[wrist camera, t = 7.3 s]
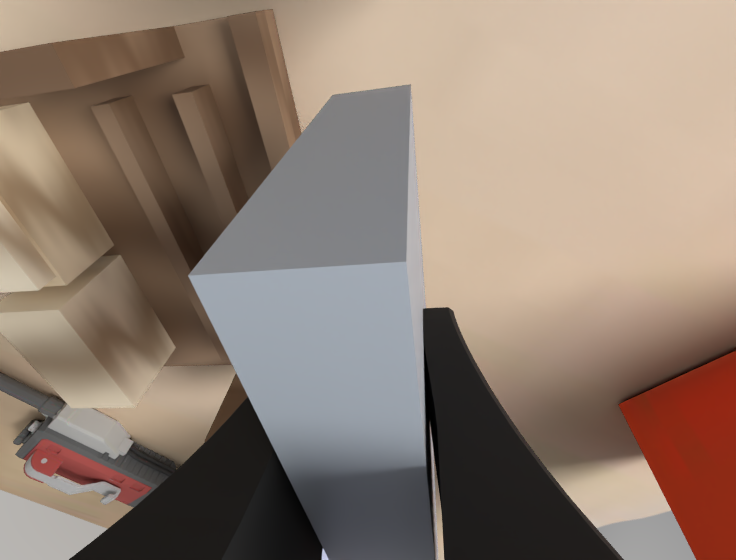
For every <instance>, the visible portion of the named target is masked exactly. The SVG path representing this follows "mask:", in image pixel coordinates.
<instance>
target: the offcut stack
mask: <svg viewBox="0 0 736 560" xmlns="http://www.w3.org/2000/svg"><path fill="white" fill-rule="evenodd" d="M113 246H114V244H113V242H112V240H111V239H110V237H109V235H108V234H107V232H106V230H105V229H104V227H103V225H102V224H101V222H100V220H99V219H98V217H97V215H96V214H95V212H94V210H93V209H92V207H91V205H90V204H89V202H88V200H87V199H86V197H85V195H84V194H83V192H82V190H81V189H80V187H79V185H78V184H77V182H76V180H75V179H74V177H73V175H72V174H71V172H70V170H69V169H68V167H67V165H66V164H65V162H64V160H63V159H62V157H61V155H60V154H59V152H58V150H57V149H56V147H55V145H54V144H53V142H52V140H51V139H50V137H49V135H48V134H47V132H46V130H45V129H44V127H43V125H42V124H41V122H40V120H39V118H38V117H37V115H36V113H35V112H34V110H33V108H32V107H31V105H30V103H29V102H28V103H22V104H15V105H9V106H2V107H0V293H5V292H12V293H10V294H9V295H8V296H6V297H5V298H4V299H2V300H1V301H0V333H1V334H2V335H3V336H4V337H5V338H6V339H7V340H8V341H9V342H10V343H11V344H12V345H13V346H14V347H15V349H16V350H17V351H18V352H19V353H20V354H21V355H22V356H23V357H24V358H25V359H26V360H27V361H28V362H29V363H30V365H31V366H32V367H33V368H34V369H35V370H36V371H37V372H38V373H39V374H40V375H41V376H42V377H43V378H44V379H45V381H46V382H47V383H48V384H49V385H50V386H51V387H52V388H53V389H54V390H55V391H56V392H57V393H58V394H59V395H60V397H61V398H62V399H63V400H64V401H65V402H66V403H67V404H68V405H69V406H70V407H71V408H136V406H137V405H138V403H139V402H140V400H141V399H142V397H143V396H144V394H145V393H146V391H147V390H148V388H149V387H150V385H151V384H152V382H153V381H154V379H155V378H156V376H157V375H158V373H159V372H160V370H161V369H162V367H163V366H164V364H165V363H166V361H167V360H168V358H169V357H170V355H171V354H172V352H173V351H174V349H175V348H176V347H175V345H174V344H173V342H172V340H171V339H170V337H169V335H168V334H167V332H166V330H165V329H164V327H163V325H162V324H161V322H160V320H159V319H158V317H157V315H156V314H155V312H154V310H153V309H152V307H151V305H150V304H149V302H148V300H147V299H146V297H145V295H144V294H143V292H142V290H141V289H140V287H139V285H138V284H137V282H136V280H135V279H134V277H133V275H132V274H131V272H130V270H129V269H128V267H127V265H126V264H125V262H124V260H123V259H122V257H121V255H111V256H102V255H103V254H105V253H106V252H107V251H108V250H109V249H111V248H112V247H113Z"/></svg>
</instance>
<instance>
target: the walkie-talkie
mask: <svg viewBox="0 0 736 560" xmlns="http://www.w3.org/2000/svg"><path fill="white" fill-rule="evenodd" d="M0 390H1V391H3V392H5V393H7V394H9V395H11V396H13V397H15V398H17V399H19V400H21V401H23V402H25V403H27V404H29V405H31V406H33V407H35V408H37V409H38V411H39V412H41V413H42V415H44V416H45V418H46V419H45V421H44V422H43V421H42V422H39V421H37V420H36V421H35V420H32V421H31V422H30V423H29V424H28V425H27V427H26V428H25V429H24V430H23V431H22V432H21V433H20V434H19V436H18V437H17V438H16V439H15V440H14V441H13V443H14V444H16V445H20V444H21V443H23V444H24V445H23V446H22V447H21V448H20V449H19V450H18V452H17V453H16V454H15V455H17V456H18V457H19V458H21V459H24V460H26V463H25V464H24V473H25V474H26V476H28V477H29V478H31V479H33V480H36V481H38V482H41V483H46V484H48V486H50V487H52V488H55V489H57V490H59V491H62V492H64V493H66V494H69V495H72V494H77V493H82V492H88V491H95V492H97V493H100V494H102V495H104V496H105V497H104V498H102V499H101V501H100V502H101V503H103V504H105V505H106V504H108V503H109V502H111V501H112V500H114V499H115V500H118V501H120V502H122V503H125V504H127V505H129V506H132V507H135V506H137V505H138V504H139V503H140V502H141V501H142V500H143V499H144V498H146V497H147V496H148V495H149V494H150V493H151V492H152V491H154V490H155V489H156V488H157V487H158V486H159V485H160V484H161V483H163V482H164V481H165V480H166V479H167V478H168V477H169V476H170V475H172V474H173V473H174V472H175V471H176V469H175V468H176V465H175V463H174V462H173V461H170V460H169V459H166V458H164V457H163V456H160V455H158V454H157V453H154V452H153V451H150V450H148V449H147V448H144V447H142V446H141V445H138V444H137V443H135V442H134V441H132V440H130V437H131V436H130V435H129V434H128V432H127V431H126V430H125V429H124V428H123V426H122V425H121V424H120V423H119V422H118V421H117V420H115V419H113V418H111V417H109V416H107V415H105V414H103V413H101V412H99V411H97V410H95V409H94V408H71V407H70V406H69V405H68V404H67V403H65V402H63V401H61V400H59V399H57V398H55V397H53V396H51V397H48V396H46V395H44V394H42V393H40V392H38V391H36V390H34V389H32V388H30V387H29V386H27V385H25V384H23V383H21V382H19V381H17V380H15V379H13V378H11V377H9V376H7V375H5V374H3V373H1V372H0ZM54 473H56V474H58V475H60V476H63V477H65V478H67V479H70V480H72V481H74V482H77V483H79V484H81V485H78V484H76V483H74V482H71V481H69V480H67V479H64V478H62V477H60V476H54V475H53V474H54Z"/></svg>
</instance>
